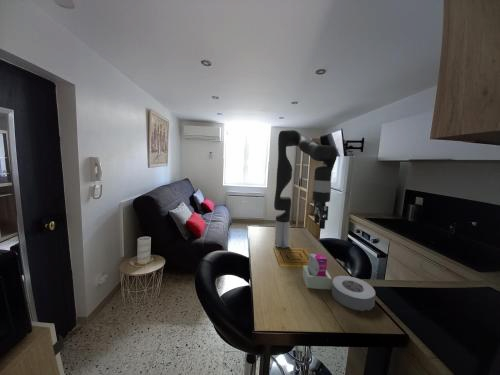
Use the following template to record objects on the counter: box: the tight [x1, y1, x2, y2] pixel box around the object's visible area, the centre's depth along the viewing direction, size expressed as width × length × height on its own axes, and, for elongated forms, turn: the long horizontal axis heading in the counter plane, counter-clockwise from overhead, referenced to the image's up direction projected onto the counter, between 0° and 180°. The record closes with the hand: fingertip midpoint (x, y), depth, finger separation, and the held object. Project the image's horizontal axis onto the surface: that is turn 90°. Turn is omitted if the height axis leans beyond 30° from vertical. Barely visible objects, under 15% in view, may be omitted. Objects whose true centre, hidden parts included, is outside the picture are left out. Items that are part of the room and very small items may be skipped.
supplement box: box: [307, 253, 328, 277], centre depth 86 cm, size 6×6×12 cm
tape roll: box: [331, 275, 377, 312], centre depth 77 cm, size 15×15×5 cm
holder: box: [302, 265, 333, 291], centre depth 87 cm, size 10×10×5 cm
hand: (319, 225), depth 88 cm, fingers open, 8 cm apart
